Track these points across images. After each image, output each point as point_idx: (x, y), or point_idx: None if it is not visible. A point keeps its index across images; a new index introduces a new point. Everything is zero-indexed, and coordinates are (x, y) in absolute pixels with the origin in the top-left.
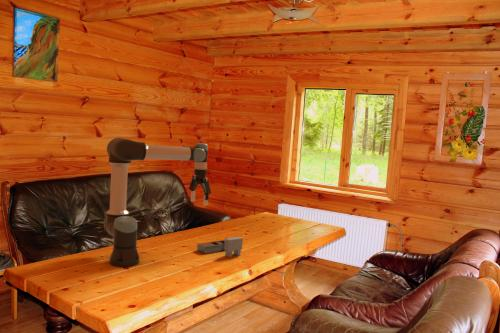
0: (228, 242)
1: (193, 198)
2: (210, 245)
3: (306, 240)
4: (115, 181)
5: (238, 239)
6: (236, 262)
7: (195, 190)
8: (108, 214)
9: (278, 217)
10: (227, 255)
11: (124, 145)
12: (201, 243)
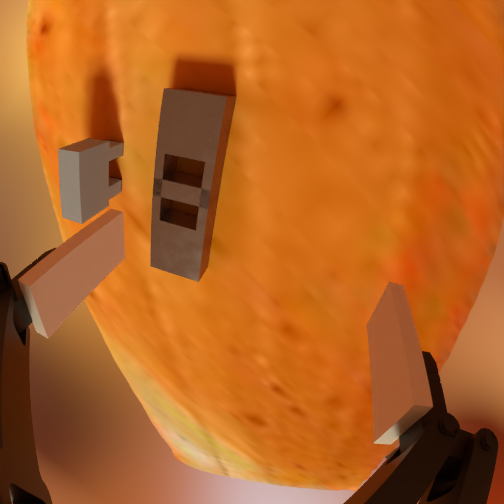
0: (66, 146)
1: (381, 333)
2: (169, 129)
3: (145, 399)
4: None
5: (62, 196)
6: (66, 124)
7: (387, 455)
8: None
9: (315, 483)
10: (110, 141)
11: None
12: (219, 118)
